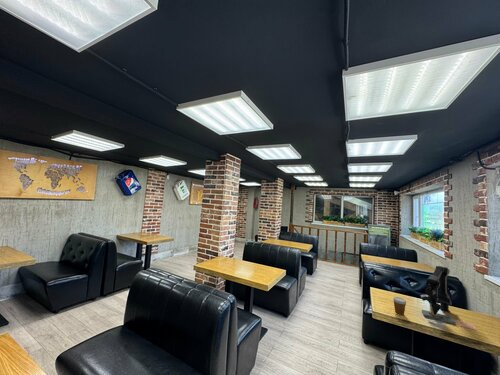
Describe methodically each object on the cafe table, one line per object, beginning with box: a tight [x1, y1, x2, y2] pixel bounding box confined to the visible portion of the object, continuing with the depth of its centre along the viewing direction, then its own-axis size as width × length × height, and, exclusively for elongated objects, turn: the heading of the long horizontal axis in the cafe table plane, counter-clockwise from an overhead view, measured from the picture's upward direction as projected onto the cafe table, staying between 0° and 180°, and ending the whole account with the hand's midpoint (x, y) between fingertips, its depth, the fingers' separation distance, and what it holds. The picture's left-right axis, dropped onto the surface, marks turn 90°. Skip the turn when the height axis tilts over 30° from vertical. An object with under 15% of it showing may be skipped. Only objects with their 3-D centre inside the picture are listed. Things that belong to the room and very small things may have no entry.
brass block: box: [429, 305, 437, 316], centre depth 177 cm, size 4×4×8 cm
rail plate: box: [421, 309, 457, 326], centre depth 175 cm, size 10×20×2 cm, turn 60°
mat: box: [454, 319, 478, 331], centre depth 166 cm, size 10×10×1 cm
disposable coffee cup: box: [392, 296, 407, 316], centre depth 179 cm, size 10×10×12 cm
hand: (433, 312), depth 177 cm, fingers open, 9 cm apart
